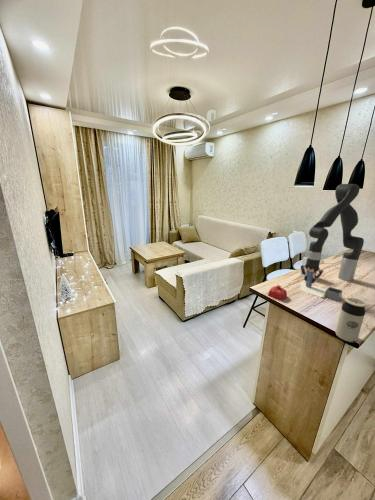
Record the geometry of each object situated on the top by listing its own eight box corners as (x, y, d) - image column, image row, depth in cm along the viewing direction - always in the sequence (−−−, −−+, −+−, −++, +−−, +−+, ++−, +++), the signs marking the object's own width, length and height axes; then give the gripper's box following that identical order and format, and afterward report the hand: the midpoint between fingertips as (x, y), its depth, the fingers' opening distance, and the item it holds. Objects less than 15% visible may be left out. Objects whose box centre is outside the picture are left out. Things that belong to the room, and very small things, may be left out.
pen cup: (328, 293, 134) (329, 286, 133) (340, 298, 129) (342, 290, 128) (324, 297, 130) (325, 290, 128) (337, 301, 125) (339, 294, 123)
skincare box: (305, 279, 156) (309, 259, 151) (299, 276, 162) (302, 257, 158) (314, 278, 158) (318, 258, 154) (307, 275, 164) (311, 256, 160)
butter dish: (282, 305, 120) (284, 292, 118) (263, 297, 128) (265, 285, 126) (290, 298, 128) (292, 286, 125) (272, 292, 136) (273, 280, 133)
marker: (306, 284, 144) (309, 267, 141) (312, 286, 141) (315, 269, 138) (304, 286, 142) (307, 268, 138) (310, 288, 139) (313, 270, 135)
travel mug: (336, 328, 100) (344, 294, 95) (357, 336, 95) (367, 300, 90) (334, 337, 94) (343, 301, 89) (356, 345, 89) (367, 308, 84)
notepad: (301, 283, 149) (301, 282, 149) (330, 292, 136) (331, 291, 136) (293, 289, 140) (293, 287, 140) (323, 299, 127) (323, 297, 127)
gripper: (328, 259, 133) (322, 284, 138) (304, 254, 143) (300, 277, 148) (324, 261, 128) (318, 287, 133) (300, 256, 139) (296, 280, 143)
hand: (309, 281), depth 141 cm, fingers closed on marker, 3 cm apart
